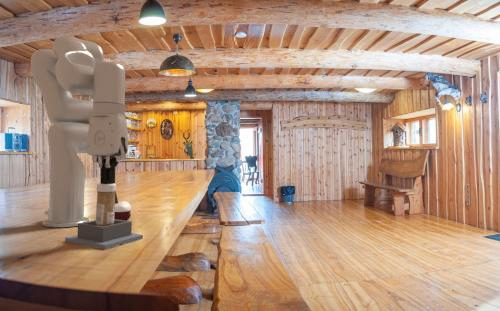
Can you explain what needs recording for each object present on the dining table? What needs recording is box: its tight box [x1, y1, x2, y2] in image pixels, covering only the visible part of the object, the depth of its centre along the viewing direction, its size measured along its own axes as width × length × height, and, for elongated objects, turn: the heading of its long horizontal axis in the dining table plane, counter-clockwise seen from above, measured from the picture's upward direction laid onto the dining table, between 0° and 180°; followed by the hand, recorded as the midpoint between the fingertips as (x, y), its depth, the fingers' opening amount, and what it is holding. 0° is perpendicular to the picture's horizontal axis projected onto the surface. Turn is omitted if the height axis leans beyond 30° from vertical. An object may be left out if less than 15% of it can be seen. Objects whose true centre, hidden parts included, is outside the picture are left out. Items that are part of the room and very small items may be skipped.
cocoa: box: [114, 190, 132, 221], centre depth 111 cm, size 10×6×12 cm, turn 37°
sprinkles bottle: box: [95, 182, 117, 226], centre depth 86 cm, size 5×5×13 cm
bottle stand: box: [64, 219, 144, 250], centre depth 86 cm, size 14×12×4 cm
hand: (107, 183), depth 85 cm, fingers closed
